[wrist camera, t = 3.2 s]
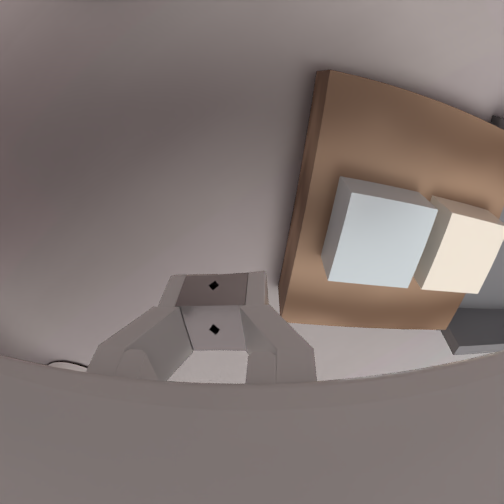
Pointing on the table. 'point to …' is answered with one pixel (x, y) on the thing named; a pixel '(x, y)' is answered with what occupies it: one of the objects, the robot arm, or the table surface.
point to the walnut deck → (388, 173)
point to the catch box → (481, 309)
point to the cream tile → (459, 248)
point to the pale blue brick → (376, 233)
